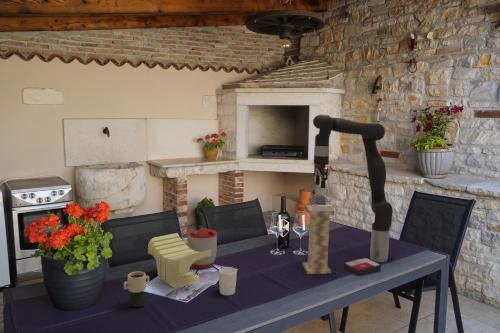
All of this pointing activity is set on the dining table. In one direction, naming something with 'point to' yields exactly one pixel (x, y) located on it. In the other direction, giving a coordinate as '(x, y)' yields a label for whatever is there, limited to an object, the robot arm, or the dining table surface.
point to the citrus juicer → (203, 246)
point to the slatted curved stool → (175, 259)
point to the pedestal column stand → (318, 241)
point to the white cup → (227, 280)
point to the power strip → (322, 207)
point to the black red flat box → (362, 267)
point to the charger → (317, 199)
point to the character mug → (136, 288)
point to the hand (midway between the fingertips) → (320, 186)
